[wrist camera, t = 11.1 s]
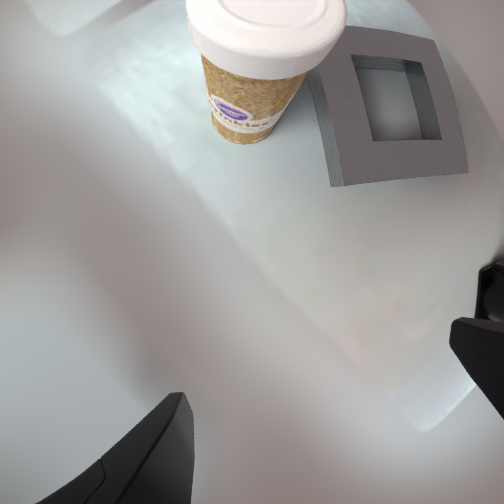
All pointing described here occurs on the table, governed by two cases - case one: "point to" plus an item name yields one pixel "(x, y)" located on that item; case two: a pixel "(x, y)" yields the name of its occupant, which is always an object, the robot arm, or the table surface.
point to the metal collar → (356, 120)
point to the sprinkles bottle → (259, 56)
